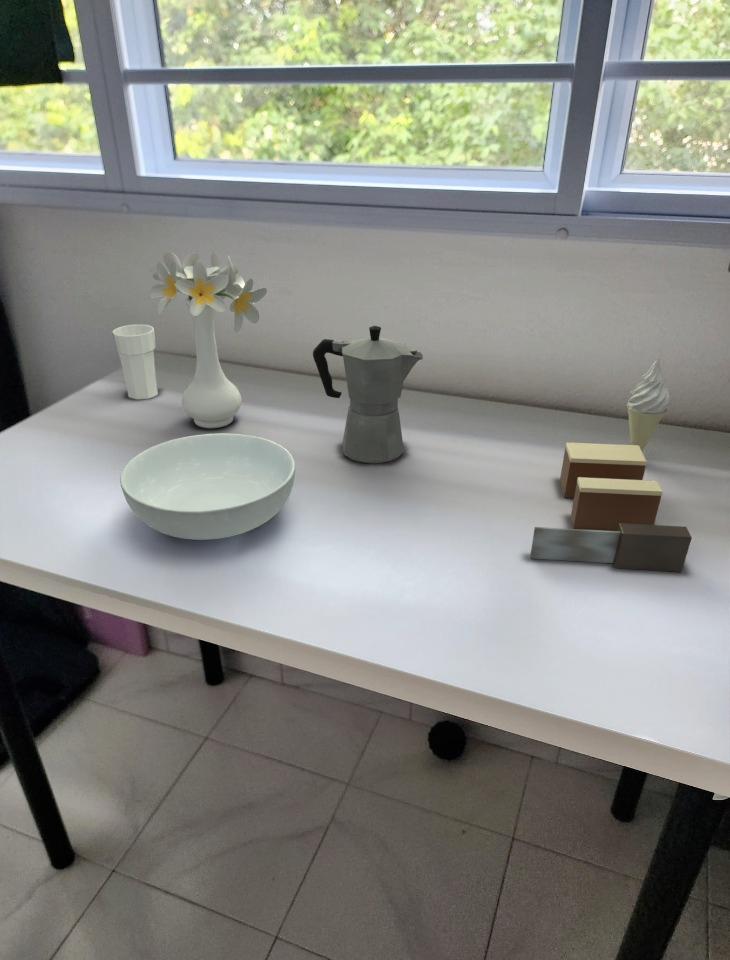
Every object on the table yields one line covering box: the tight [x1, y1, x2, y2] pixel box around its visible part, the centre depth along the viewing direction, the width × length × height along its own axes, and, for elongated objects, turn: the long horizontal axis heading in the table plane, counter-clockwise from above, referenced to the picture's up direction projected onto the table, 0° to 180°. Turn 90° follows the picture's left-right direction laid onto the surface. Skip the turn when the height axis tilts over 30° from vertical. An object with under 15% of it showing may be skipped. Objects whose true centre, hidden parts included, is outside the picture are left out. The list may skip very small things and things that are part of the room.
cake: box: [559, 442, 648, 499], centre depth 95 cm, size 9×5×6 cm, turn 82°
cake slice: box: [570, 477, 663, 531], centre depth 88 cm, size 9×3×6 cm, turn 82°
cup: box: [111, 323, 159, 400], centre depth 126 cm, size 7×7×11 cm
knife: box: [529, 523, 693, 573], centre depth 82 cm, size 16×2×4 cm, turn 82°
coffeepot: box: [312, 325, 424, 464], centre depth 104 cm, size 15×9×18 cm, turn 70°
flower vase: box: [148, 250, 268, 429], centre depth 111 cm, size 13×18×25 cm
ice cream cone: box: [626, 356, 670, 452], centre depth 100 cm, size 5×5×15 cm
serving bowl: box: [119, 432, 296, 541], centre depth 91 cm, size 21×21×7 cm
